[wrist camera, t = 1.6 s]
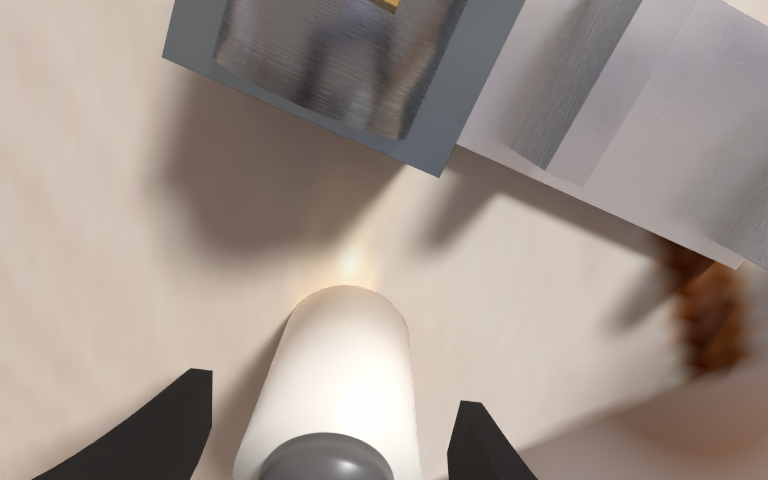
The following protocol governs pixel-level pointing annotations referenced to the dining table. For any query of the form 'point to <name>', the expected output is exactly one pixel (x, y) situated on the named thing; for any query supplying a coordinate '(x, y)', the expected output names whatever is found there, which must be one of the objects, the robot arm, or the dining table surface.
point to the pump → (336, 395)
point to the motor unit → (525, 95)
